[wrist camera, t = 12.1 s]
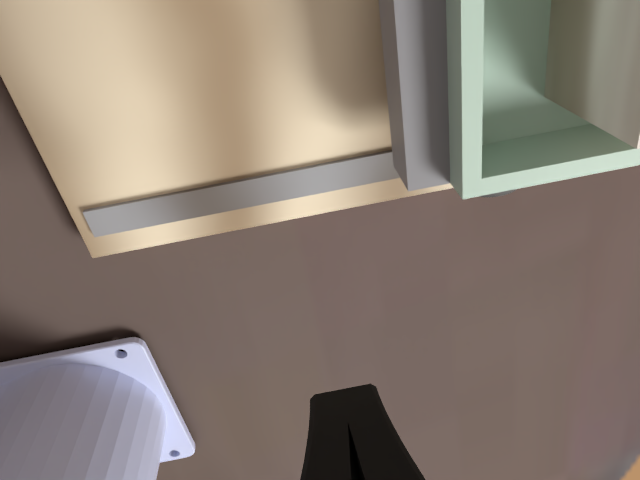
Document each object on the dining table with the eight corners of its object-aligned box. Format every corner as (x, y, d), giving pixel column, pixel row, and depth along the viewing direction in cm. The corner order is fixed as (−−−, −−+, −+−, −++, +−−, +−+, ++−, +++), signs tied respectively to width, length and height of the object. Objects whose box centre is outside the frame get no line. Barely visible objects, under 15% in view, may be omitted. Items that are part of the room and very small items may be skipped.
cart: (390, 186, 17) (420, 245, 14) (355, -163, 12) (390, -201, 9) (712, 123, 17) (819, 168, 14) (815, -253, 12) (1024, -325, 8)
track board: (100, 243, 18) (64, 312, 15) (-72, -111, 13) (-194, -129, 9) (727, 120, 18) (832, 162, 15) (847, -292, 13) (1063, -376, 9)
